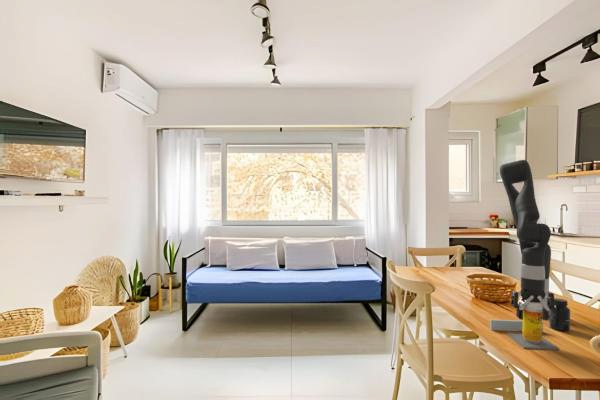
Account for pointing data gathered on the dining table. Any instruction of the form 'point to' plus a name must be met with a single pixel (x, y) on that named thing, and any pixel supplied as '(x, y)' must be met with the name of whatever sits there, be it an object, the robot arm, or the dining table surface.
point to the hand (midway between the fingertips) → (532, 319)
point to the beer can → (532, 322)
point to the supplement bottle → (560, 315)
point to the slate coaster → (528, 345)
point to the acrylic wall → (507, 325)
